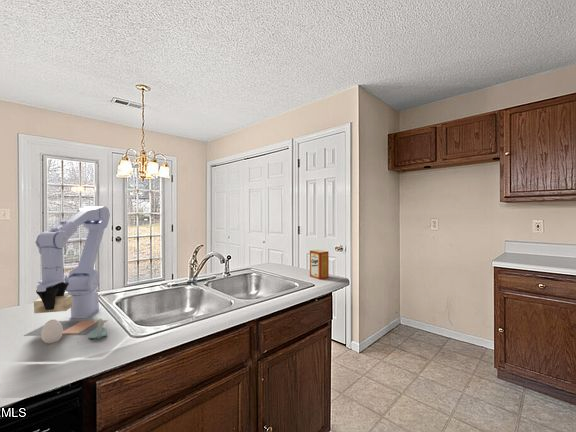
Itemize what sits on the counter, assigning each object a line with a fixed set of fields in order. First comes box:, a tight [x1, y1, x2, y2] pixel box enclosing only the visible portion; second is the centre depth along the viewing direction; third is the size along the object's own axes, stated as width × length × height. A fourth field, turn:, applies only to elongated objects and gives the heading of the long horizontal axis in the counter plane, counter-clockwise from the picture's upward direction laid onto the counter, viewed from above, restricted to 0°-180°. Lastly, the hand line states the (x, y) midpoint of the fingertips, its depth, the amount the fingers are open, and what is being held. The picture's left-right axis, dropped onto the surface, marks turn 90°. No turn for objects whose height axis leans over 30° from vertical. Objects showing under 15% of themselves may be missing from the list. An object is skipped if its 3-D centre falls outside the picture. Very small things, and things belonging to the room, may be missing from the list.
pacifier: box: [85, 318, 108, 343], centre depth 93 cm, size 7×6×6 cm
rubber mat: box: [23, 319, 108, 337], centre depth 100 cm, size 12×20×1 cm, turn 91°
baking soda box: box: [309, 249, 330, 280], centre depth 173 cm, size 10×6×16 cm
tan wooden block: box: [33, 294, 72, 314], centre depth 98 cm, size 9×4×4 cm, turn 104°
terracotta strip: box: [63, 320, 99, 334], centre depth 100 cm, size 10×6×1 cm, turn 1°
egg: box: [40, 319, 63, 345], centre depth 90 cm, size 5×5×7 cm
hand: (53, 306), depth 98 cm, fingers closed on tan wooden block, 4 cm apart
